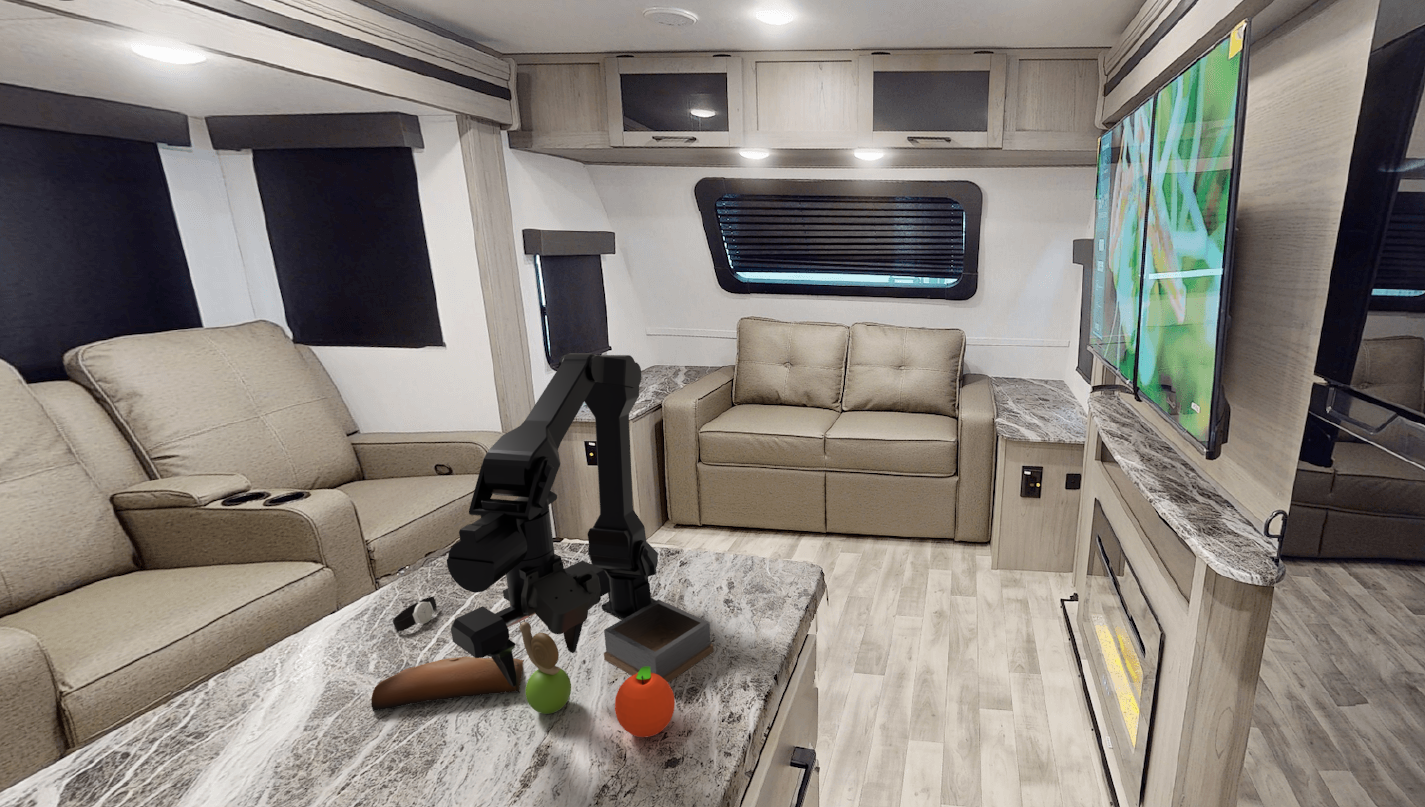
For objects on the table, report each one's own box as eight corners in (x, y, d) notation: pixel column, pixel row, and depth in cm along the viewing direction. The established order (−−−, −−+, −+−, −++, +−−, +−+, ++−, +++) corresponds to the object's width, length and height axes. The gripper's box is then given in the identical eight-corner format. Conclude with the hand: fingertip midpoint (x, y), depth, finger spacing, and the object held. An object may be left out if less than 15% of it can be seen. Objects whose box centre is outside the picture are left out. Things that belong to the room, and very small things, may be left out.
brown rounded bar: (527, 656, 96) (519, 632, 91) (525, 707, 91) (516, 684, 86) (392, 673, 94) (377, 650, 89) (382, 726, 89) (365, 704, 84)
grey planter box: (604, 659, 94) (601, 630, 93) (660, 625, 102) (658, 598, 101) (657, 690, 87) (654, 658, 86) (713, 651, 95) (711, 622, 94)
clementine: (623, 705, 85) (618, 653, 83) (679, 703, 85) (675, 652, 83) (612, 752, 77) (606, 696, 76) (674, 750, 77) (669, 695, 75)
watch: (410, 637, 103) (407, 615, 102) (385, 633, 104) (381, 611, 104) (445, 610, 110) (442, 590, 109) (421, 607, 112) (418, 586, 111)
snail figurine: (547, 686, 89) (537, 603, 86) (582, 704, 86) (572, 617, 83) (513, 710, 85) (501, 623, 82) (548, 729, 81) (537, 639, 78)
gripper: (492, 605, 68) (512, 740, 72) (634, 539, 82) (644, 656, 85) (439, 573, 76) (459, 696, 79) (577, 517, 89) (589, 625, 93)
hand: (543, 667), depth 84 cm, fingers open, 8 cm apart
